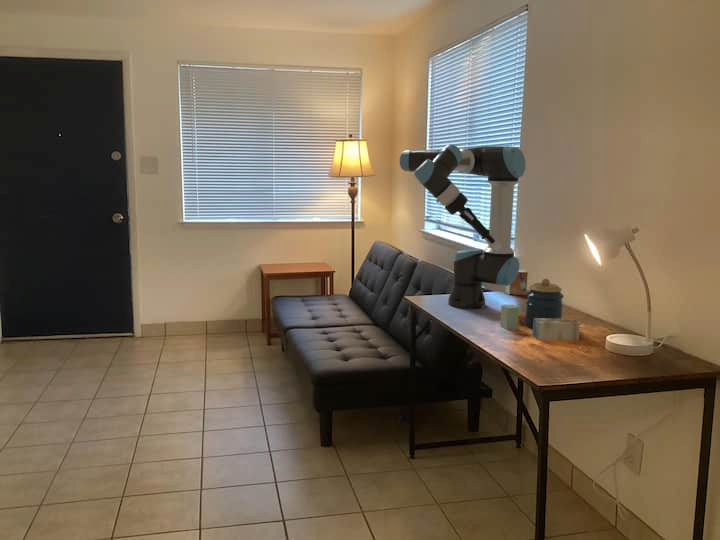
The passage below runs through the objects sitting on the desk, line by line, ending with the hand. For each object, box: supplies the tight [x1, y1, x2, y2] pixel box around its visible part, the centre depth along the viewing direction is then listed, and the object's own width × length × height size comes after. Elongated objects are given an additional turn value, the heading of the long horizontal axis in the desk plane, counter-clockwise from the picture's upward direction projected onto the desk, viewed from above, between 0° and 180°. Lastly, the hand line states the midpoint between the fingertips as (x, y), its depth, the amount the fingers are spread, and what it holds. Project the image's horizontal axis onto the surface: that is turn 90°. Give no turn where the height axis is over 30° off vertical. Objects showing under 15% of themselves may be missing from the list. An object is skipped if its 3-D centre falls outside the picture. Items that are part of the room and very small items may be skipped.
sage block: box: [499, 304, 520, 331], centre depth 228 cm, size 4×4×8 cm
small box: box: [505, 269, 529, 296], centre depth 286 cm, size 8×6×10 cm
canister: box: [524, 278, 565, 329], centre depth 230 cm, size 13×13×18 cm
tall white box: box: [532, 318, 581, 341], centre depth 216 cm, size 6×6×14 cm
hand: (499, 248), depth 215 cm, fingers closed
